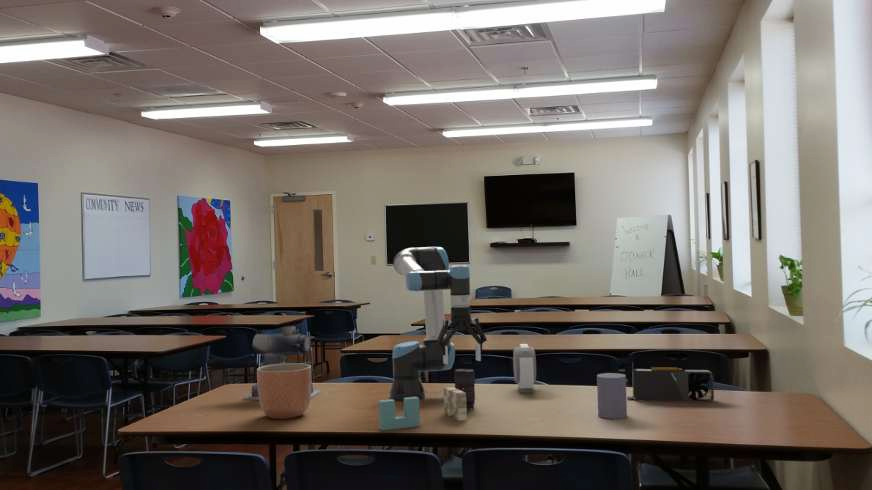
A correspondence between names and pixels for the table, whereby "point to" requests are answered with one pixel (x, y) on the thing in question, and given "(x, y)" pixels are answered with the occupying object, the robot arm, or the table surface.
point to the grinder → (279, 351)
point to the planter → (284, 389)
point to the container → (611, 395)
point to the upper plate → (455, 403)
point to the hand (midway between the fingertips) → (462, 362)
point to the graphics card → (671, 384)
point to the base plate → (392, 422)
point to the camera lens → (466, 385)
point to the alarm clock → (524, 367)
